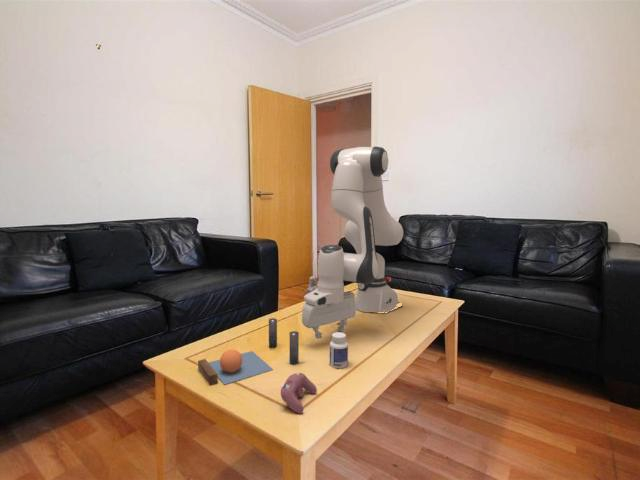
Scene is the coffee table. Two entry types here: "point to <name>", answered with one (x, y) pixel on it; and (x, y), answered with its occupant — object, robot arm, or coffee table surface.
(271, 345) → the post
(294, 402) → the video game controller
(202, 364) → the stopper
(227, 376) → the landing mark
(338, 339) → the pill bottle
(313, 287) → the human figurine
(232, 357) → the ball
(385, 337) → the coffee table surface
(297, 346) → the post
